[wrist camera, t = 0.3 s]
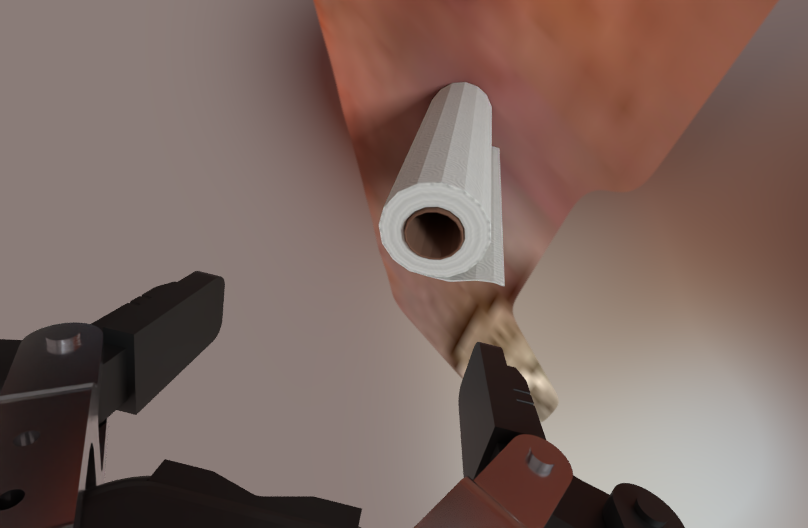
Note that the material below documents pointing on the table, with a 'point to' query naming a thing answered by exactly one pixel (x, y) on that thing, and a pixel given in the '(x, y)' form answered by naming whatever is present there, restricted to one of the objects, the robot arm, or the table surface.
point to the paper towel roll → (449, 193)
